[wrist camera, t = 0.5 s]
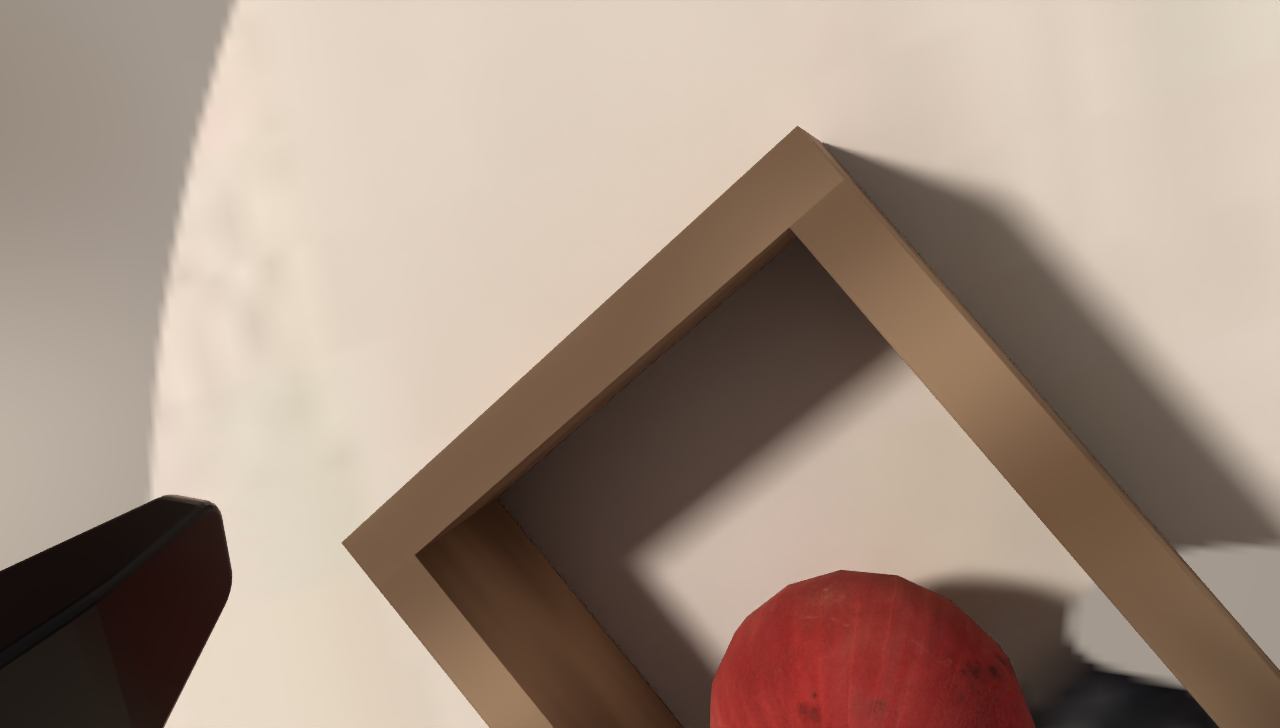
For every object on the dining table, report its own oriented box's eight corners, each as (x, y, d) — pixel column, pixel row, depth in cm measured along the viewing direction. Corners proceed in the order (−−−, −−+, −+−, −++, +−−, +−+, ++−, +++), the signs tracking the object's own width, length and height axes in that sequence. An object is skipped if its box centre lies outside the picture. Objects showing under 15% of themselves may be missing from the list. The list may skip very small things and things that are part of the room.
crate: (1284, 676, 19) (1377, 793, 15) (805, 947, 23) (783, 1093, 19) (820, 141, 20) (797, 126, 16) (433, 489, 24) (341, 542, 20)
